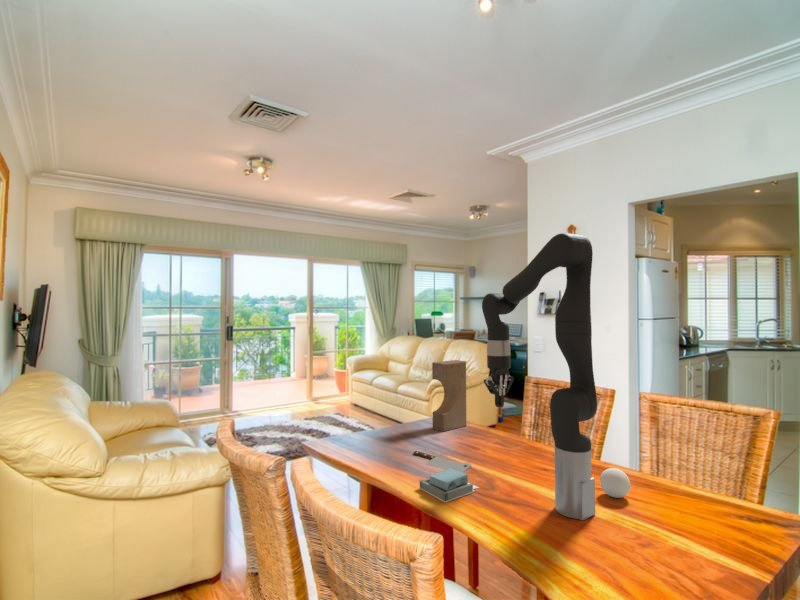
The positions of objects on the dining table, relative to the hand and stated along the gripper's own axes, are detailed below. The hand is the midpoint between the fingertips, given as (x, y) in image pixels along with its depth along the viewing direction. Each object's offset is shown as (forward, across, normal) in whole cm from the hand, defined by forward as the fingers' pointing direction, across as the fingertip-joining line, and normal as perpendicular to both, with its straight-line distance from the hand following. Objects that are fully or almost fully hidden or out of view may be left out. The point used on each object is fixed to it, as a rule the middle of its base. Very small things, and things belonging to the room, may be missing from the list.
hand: (499, 406), depth 141 cm
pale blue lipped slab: (+22, -21, +2) cm, 31 cm away
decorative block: (+22, +26, +52) cm, 62 cm away
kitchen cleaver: (+23, -8, +22) cm, 33 cm away
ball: (+23, +14, -30) cm, 41 cm away
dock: (+23, -20, +3) cm, 30 cm away
